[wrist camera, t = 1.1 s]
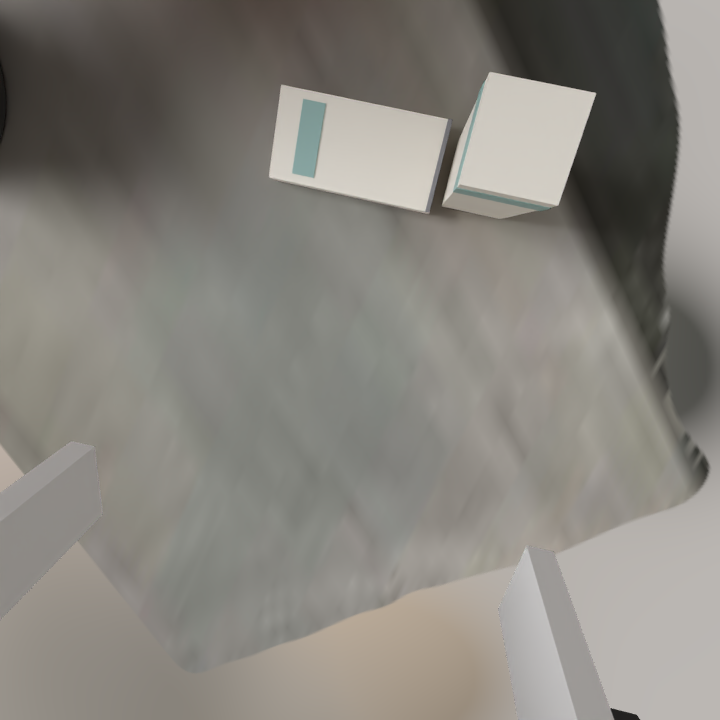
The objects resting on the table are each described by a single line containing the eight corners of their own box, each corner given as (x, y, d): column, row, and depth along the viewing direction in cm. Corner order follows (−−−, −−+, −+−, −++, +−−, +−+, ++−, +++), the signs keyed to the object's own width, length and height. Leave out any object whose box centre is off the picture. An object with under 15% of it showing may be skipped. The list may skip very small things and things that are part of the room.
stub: (440, 206, 31) (458, 185, 19) (457, 140, 30) (488, 70, 17) (500, 220, 31) (558, 207, 19) (520, 153, 30) (597, 92, 17)
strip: (277, 180, 32) (268, 176, 30) (289, 94, 30) (280, 83, 28) (428, 214, 31) (429, 212, 29) (450, 127, 30) (452, 119, 28)
